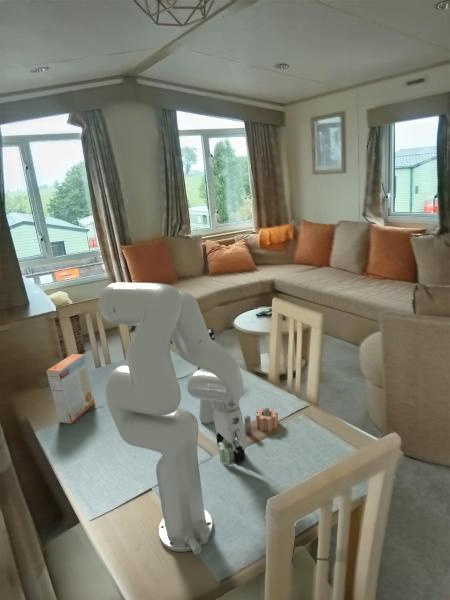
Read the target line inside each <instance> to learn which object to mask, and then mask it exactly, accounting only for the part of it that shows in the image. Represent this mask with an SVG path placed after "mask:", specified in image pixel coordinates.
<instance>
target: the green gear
mask: <svg viewBox="0 0 450 600" xmlns="http://www.w3.org/2000/svg"><path fill="white" fill-rule="evenodd" d="M222 440H223V441H222V442H219V444H218V445H217V447H218V453H219V461H220V462H221V463H222V464H224V463H225V465H226V466H231V465H232V464H234V462H233V461H234V453H233V451H235V450H234V448H233V445H232V444H231V443H229V442H228V441H227V440H226V439H222ZM235 440H237V438H235ZM235 440H234V441H235ZM235 444H236V446H237V447H238V446H240V443H239V441H238V442H236V443H235Z"/></svg>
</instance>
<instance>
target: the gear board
mask: <svg viewBox="0 0 450 600" xmlns="http://www.w3.org/2000/svg"><path fill="white" fill-rule="evenodd" d="M263 408H264V409H263V411H264V416H270V415H269V409H270V407H263ZM243 421H244V430H245V440H246V442H247V444H246V447H249V446H251V445H255V444H257V443H258V442H261V441H263V440H265V439H267V438H270V437H272V436H274V435H276V434H278V433H281V432H282V431H285V430H287V427H286V426H284V425H283V424H281V422H279V421H278V425H277V426H278V428H277V429H272V431H270V432H268V430H264V431H261V430H260V428H257V425H256V419H255V420H252V421H251V416H250V415H248V414H247V415H245V416H244V417H243Z"/></svg>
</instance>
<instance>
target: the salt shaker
mask: <svg viewBox="0 0 450 600" xmlns="http://www.w3.org/2000/svg"><path fill="white" fill-rule="evenodd" d="M213 415H214V409H213V404H212V400H204V399H200V400H199V413H198V419H199V421H200V422H201V423H203V424H205V425H210V424H212V423H213V424H214V420H213V417H212V416H213Z"/></svg>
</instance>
